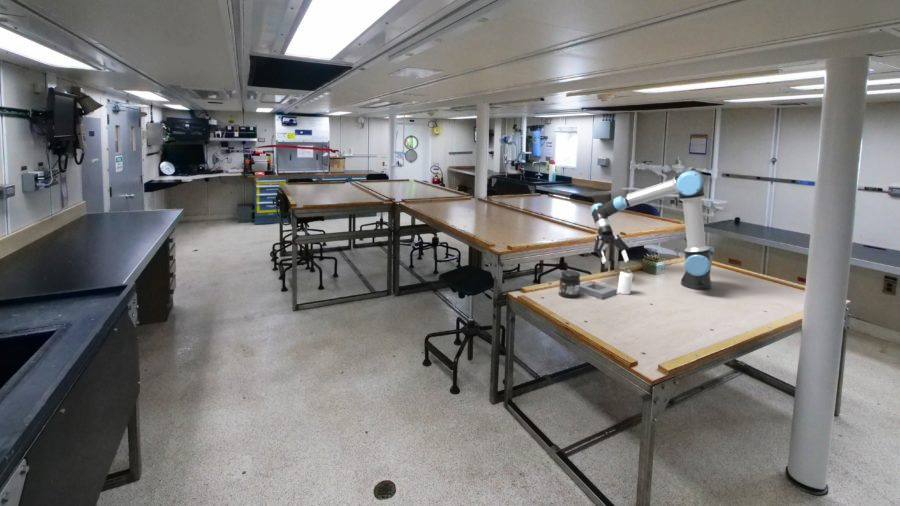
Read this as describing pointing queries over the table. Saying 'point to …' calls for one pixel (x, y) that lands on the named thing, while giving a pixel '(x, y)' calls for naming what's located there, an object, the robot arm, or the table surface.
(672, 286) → the table surface
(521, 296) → the table surface
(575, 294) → the supplement container
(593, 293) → the socket plate
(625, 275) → the can
